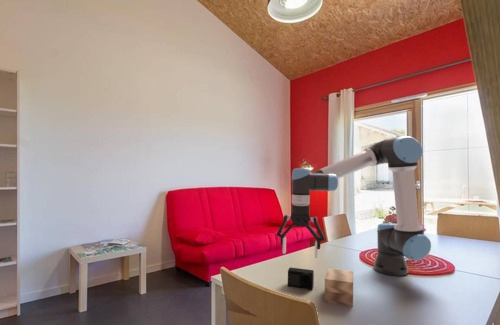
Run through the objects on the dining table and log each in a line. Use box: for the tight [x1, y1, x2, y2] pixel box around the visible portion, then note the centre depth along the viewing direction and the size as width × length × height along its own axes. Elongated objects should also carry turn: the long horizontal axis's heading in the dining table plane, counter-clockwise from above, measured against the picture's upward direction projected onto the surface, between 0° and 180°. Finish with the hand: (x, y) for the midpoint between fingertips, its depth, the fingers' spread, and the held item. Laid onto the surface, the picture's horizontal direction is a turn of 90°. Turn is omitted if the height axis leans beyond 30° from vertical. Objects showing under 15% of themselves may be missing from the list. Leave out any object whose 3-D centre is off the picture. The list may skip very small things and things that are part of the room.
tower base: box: [324, 290, 354, 307], centre depth 112 cm, size 10×12×4 cm
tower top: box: [324, 268, 354, 296], centre depth 112 cm, size 10×12×4 cm
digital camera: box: [287, 266, 315, 291], centre depth 121 cm, size 10×5×7 cm, turn 70°
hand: (299, 255), depth 121 cm, fingers open, 13 cm apart
